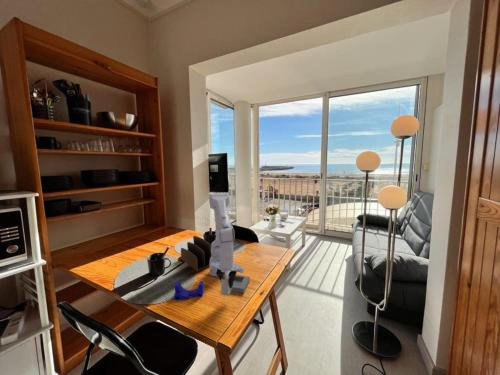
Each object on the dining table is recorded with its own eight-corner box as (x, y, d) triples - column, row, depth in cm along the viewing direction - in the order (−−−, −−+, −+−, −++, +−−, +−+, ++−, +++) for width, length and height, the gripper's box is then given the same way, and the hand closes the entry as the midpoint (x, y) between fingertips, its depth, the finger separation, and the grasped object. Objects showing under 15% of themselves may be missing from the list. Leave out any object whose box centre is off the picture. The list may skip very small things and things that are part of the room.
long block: (221, 294, 86) (221, 279, 85) (226, 286, 92) (226, 271, 91) (228, 295, 85) (227, 280, 84) (233, 287, 91) (232, 272, 90)
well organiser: (223, 290, 97) (223, 285, 97) (231, 278, 107) (230, 274, 107) (243, 293, 95) (243, 288, 94) (249, 281, 104) (249, 276, 104)
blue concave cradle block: (174, 300, 91) (173, 288, 90) (177, 293, 96) (176, 281, 95) (202, 299, 92) (201, 286, 91) (203, 292, 96) (203, 280, 95)
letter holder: (195, 254, 135) (194, 233, 133) (212, 265, 121) (211, 242, 119) (180, 259, 128) (179, 237, 126) (197, 272, 114) (195, 247, 112)
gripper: (206, 258, 84) (207, 288, 86) (240, 262, 81) (240, 294, 83) (213, 250, 91) (214, 279, 93) (245, 254, 87) (245, 284, 89)
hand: (227, 285), depth 88 cm, fingers closed on long block, 3 cm apart
